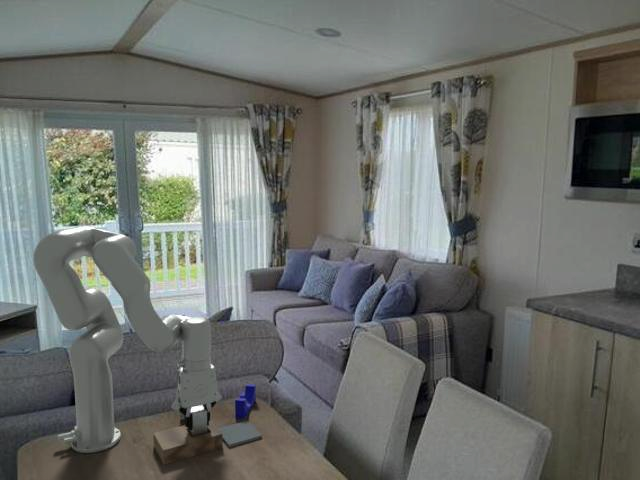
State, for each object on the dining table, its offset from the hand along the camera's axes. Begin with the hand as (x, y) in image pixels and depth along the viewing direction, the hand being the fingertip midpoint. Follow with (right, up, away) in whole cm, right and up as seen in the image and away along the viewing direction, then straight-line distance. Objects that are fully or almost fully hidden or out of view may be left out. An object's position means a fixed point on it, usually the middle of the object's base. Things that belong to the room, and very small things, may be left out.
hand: (197, 425), depth 138 cm
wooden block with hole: (-2, -6, -1) cm, 6 cm away
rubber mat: (+10, -5, +6) cm, 13 cm away
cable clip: (+9, -3, +22) cm, 24 cm away
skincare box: (-6, -3, +18) cm, 19 cm away
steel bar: (0, -5, +1) cm, 5 cm away
